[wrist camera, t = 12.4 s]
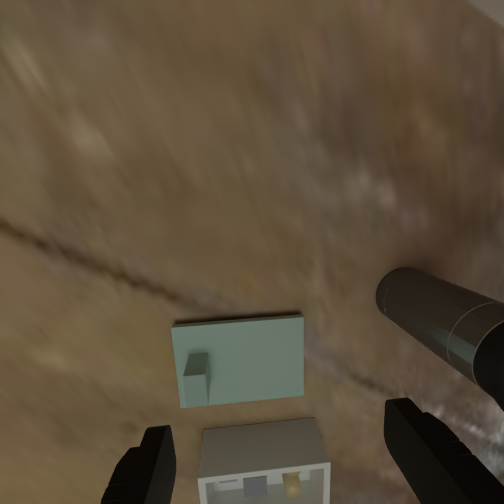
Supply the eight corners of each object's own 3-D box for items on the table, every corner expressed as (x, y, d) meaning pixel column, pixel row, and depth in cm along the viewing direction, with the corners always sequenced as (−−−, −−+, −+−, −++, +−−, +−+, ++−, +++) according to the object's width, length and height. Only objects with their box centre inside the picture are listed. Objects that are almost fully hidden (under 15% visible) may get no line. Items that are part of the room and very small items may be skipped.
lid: (299, 310, 42) (313, 334, 34) (299, 384, 45) (313, 421, 38) (174, 319, 40) (162, 347, 33) (183, 396, 43) (174, 436, 36)
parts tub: (313, 417, 46) (330, 462, 38) (313, 477, 49) (328, 530, 41) (203, 429, 45) (197, 478, 37) (209, 490, 48) (205, 547, 40)
